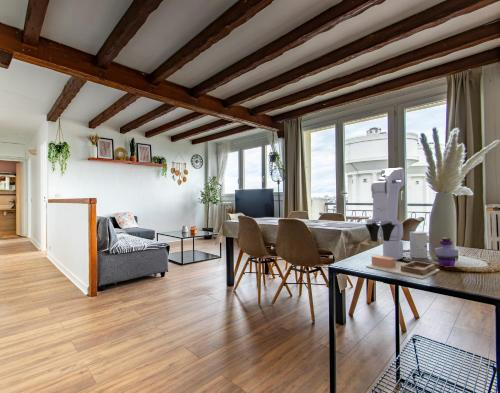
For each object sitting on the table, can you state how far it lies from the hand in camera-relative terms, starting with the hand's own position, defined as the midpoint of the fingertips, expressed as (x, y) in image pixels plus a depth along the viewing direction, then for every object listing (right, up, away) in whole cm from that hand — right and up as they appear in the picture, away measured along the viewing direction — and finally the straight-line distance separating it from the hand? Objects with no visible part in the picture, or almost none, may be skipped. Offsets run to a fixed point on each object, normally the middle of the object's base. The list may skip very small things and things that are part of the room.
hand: (380, 241), depth 116 cm
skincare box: (+25, -10, +15) cm, 31 cm away
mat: (+7, -11, -3) cm, 14 cm away
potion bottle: (+27, -11, -1) cm, 29 cm away
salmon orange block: (+2, -11, +1) cm, 11 cm away
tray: (+12, -10, -7) cm, 17 cm away
